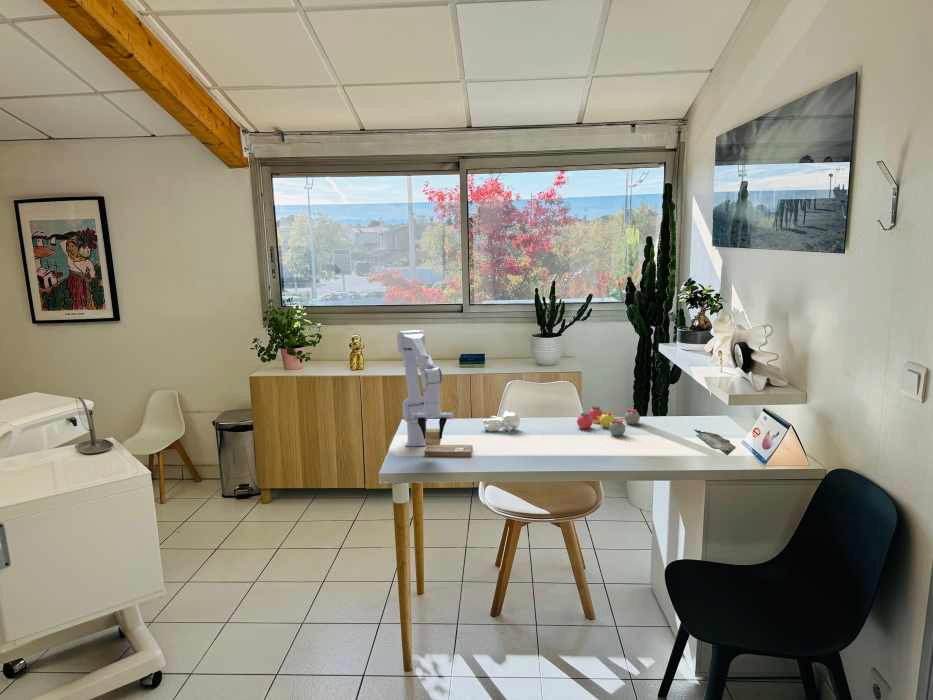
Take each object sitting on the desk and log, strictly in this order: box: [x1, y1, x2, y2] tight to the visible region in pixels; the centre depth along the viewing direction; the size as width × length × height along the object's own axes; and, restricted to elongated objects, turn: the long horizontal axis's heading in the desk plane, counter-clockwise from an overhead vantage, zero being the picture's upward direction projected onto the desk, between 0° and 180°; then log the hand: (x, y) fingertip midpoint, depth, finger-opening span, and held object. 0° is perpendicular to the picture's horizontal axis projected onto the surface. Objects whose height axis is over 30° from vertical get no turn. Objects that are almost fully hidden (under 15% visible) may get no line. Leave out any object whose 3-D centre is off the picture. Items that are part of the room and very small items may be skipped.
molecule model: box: [576, 405, 641, 437], centre depth 270 cm, size 25×21×6 cm
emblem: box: [694, 429, 736, 456], centre depth 249 cm, size 32×10×1 cm, turn 2°
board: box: [424, 444, 473, 457], centre depth 241 cm, size 8×17×2 cm, turn 86°
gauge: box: [425, 428, 442, 446], centre depth 235 cm, size 7×5×5 cm
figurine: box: [482, 410, 521, 434], centre depth 268 cm, size 11×7×15 cm
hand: (432, 438), depth 234 cm, fingers closed on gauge, 5 cm apart
